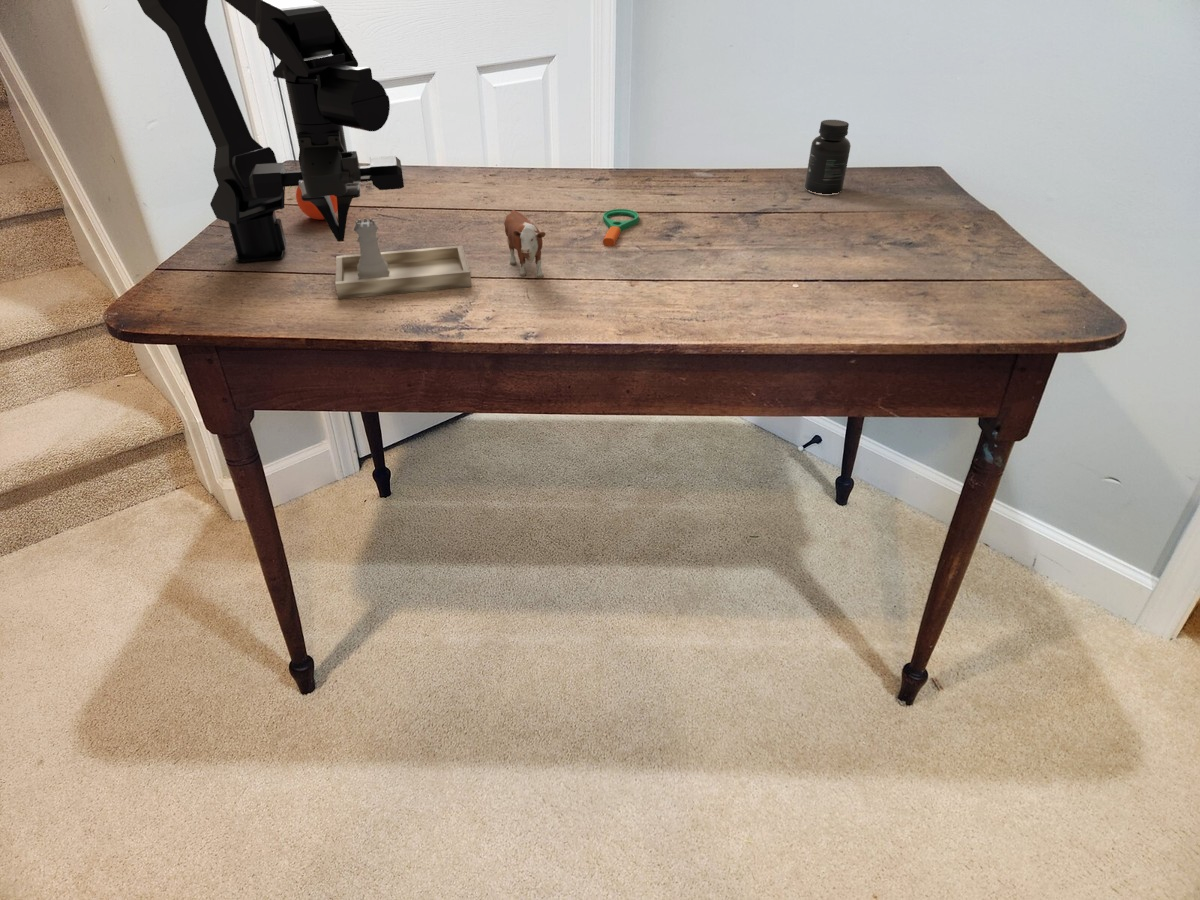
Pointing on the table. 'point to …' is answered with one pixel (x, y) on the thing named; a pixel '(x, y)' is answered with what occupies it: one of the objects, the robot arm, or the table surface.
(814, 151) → the supplement bottle
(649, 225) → the table surface
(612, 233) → the magnifying glass
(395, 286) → the tray
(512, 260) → the bull figurine
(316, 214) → the clementine
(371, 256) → the rook chess piece
